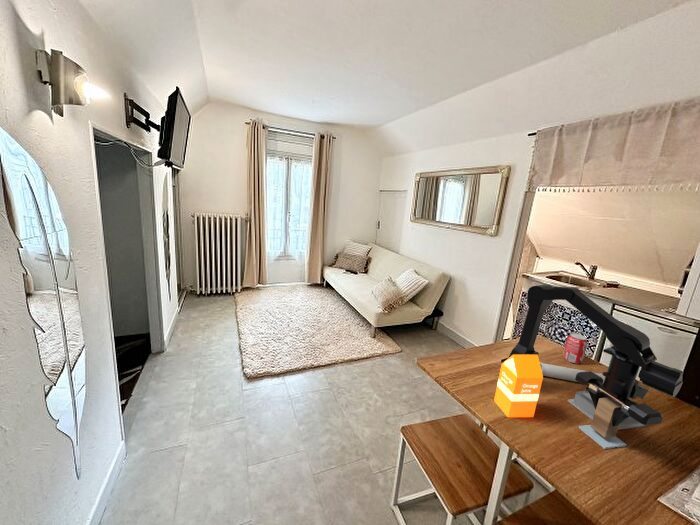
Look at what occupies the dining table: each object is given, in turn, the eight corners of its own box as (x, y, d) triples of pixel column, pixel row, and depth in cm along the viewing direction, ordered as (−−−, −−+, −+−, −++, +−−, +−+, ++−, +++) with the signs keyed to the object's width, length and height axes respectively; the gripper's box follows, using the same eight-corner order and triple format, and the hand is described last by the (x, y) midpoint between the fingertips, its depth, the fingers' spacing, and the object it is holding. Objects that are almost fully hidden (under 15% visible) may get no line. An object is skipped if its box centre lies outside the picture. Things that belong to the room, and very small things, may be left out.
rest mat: (604, 449, 78) (605, 447, 78) (578, 427, 85) (578, 425, 85) (625, 446, 79) (626, 444, 79) (598, 425, 87) (598, 423, 86)
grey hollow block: (607, 431, 84) (611, 417, 83) (567, 400, 97) (570, 388, 96) (646, 426, 87) (651, 412, 86) (603, 397, 100) (606, 385, 99)
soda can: (577, 358, 126) (584, 334, 123) (584, 366, 119) (591, 341, 117) (559, 354, 128) (565, 331, 125) (565, 362, 121) (572, 338, 119)
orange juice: (493, 400, 95) (504, 348, 90) (517, 400, 96) (529, 348, 91) (508, 418, 87) (520, 361, 83) (534, 417, 88) (547, 361, 84)
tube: (607, 373, 109) (536, 360, 114) (617, 377, 104) (542, 363, 109) (606, 386, 108) (535, 373, 114) (616, 391, 103) (541, 377, 109)
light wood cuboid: (604, 437, 80) (614, 408, 77) (590, 426, 83) (599, 398, 81) (615, 436, 80) (625, 407, 78) (601, 425, 84) (610, 397, 82)
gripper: (687, 394, 70) (668, 444, 74) (608, 353, 88) (595, 396, 91) (654, 397, 68) (635, 449, 71) (579, 355, 86) (567, 398, 89)
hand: (606, 420), depth 81 cm, fingers closed on light wood cuboid, 4 cm apart
